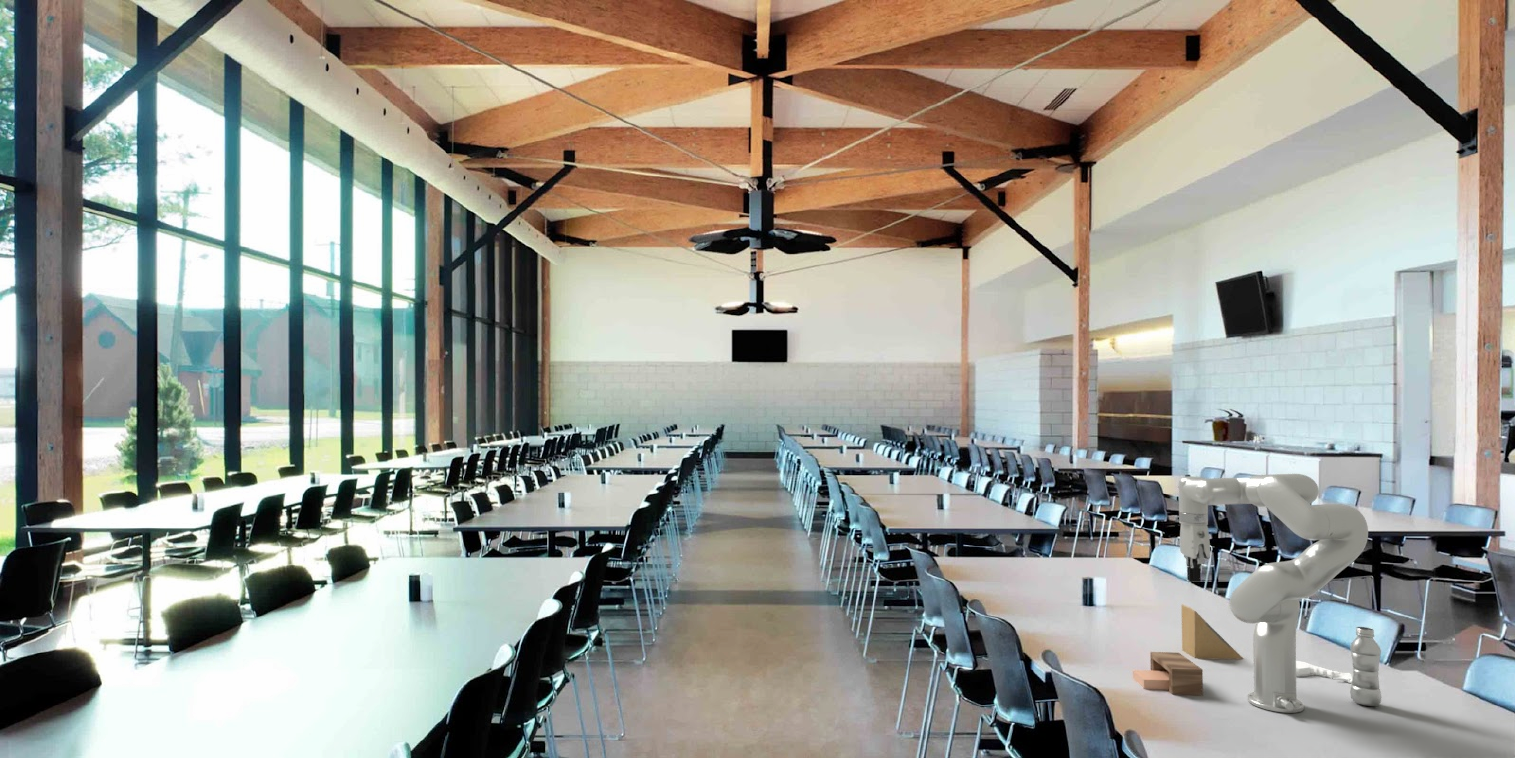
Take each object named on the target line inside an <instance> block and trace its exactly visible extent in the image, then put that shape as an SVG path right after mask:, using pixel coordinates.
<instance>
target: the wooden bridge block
mask: <svg viewBox="0 0 1515 758" xmlns="http://www.w3.org/2000/svg"><path fill="white" fill-rule="evenodd" d="M1150 671H1169V689H1168V690H1169V693H1170V694H1171V695H1175V696H1177V695H1179V696H1181V695H1182V696H1203V695H1204V686H1203V683H1204V681H1203V679H1204V675H1203V669H1202V668H1201V667H1200V666H1198V665H1197V664H1196V663H1194V662H1193V661H1191V659H1188V658H1187V657H1185V656H1184V655H1183V654H1181V653H1180V652H1170V651H1169V652H1167V651H1166V652H1163V651H1162V652H1161V651H1150Z"/></svg>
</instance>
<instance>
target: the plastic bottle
mask: <svg viewBox="0 0 1515 758" xmlns="http://www.w3.org/2000/svg"><path fill="white" fill-rule="evenodd" d="M1355 629H1356V630H1355V631H1356V632H1355V635H1356V638H1354V640H1352V642H1350V646H1349V647H1350V654H1351V660H1352V675H1353V678H1352V684H1351V685H1350V691H1349V693H1350V698H1351V700H1352V701H1353V702H1354V703H1356V704H1359V705H1362V706H1368V707H1377V706H1379V705H1380V704H1381V701H1382V693H1381V692H1382V691H1381V689H1380V681H1379V679H1380V678H1379V670H1380V660H1381V655H1382V650H1381V647H1380V646H1379V644H1378V642H1376V640H1375V639H1374V638H1375V631H1374V628H1371V627H1367V626H1356V628H1355Z"/></svg>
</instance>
